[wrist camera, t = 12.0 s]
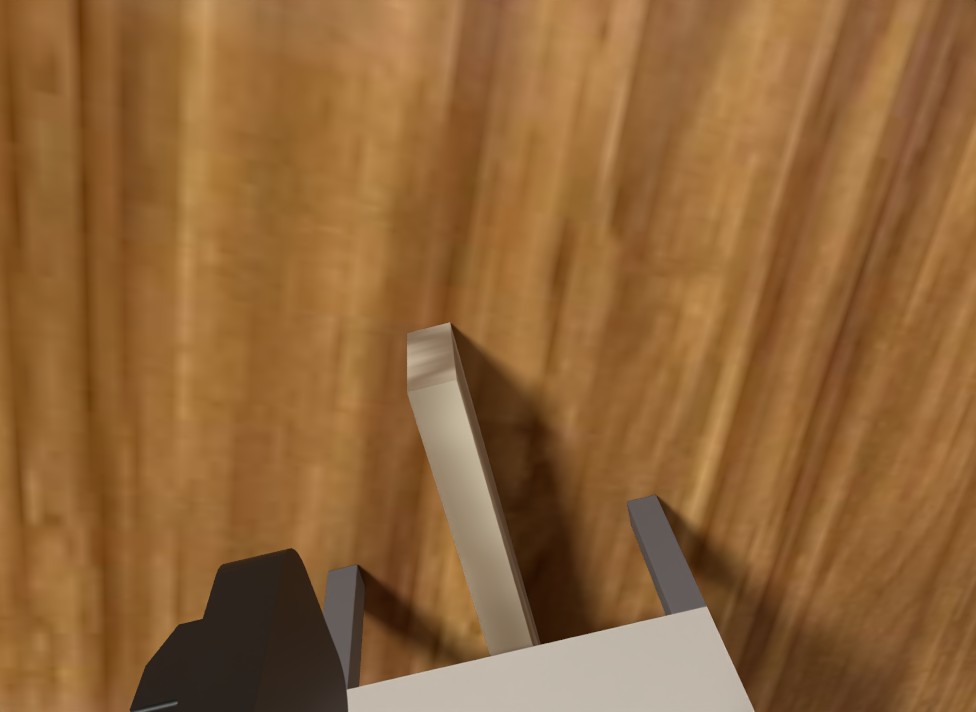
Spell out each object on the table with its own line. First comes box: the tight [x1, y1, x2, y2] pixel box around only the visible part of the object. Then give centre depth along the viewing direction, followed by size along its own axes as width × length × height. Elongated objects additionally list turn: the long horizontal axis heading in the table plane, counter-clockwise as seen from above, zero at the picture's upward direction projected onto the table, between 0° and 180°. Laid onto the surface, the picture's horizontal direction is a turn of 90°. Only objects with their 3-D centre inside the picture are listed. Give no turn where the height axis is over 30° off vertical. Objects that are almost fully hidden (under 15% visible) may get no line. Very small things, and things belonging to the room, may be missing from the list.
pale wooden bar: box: [407, 323, 541, 656], centre depth 43 cm, size 7×24×6 cm, turn 14°
